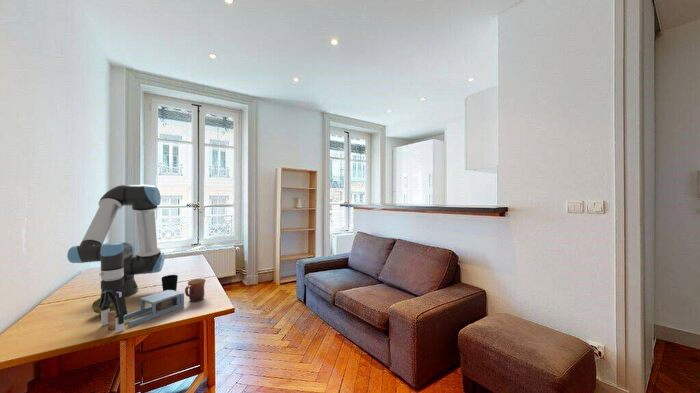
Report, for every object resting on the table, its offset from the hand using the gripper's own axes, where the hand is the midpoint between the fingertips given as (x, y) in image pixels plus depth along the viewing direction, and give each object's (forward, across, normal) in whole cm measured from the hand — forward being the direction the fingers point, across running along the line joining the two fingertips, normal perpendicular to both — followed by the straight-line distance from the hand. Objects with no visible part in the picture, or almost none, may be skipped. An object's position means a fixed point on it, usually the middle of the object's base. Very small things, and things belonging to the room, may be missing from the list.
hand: (112, 327), depth 117 cm
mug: (0, +3, +35) cm, 35 cm away
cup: (0, -13, +31) cm, 34 cm away
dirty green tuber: (0, -18, +5) cm, 19 cm away
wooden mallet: (0, 0, +11) cm, 11 cm away
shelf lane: (0, 0, +15) cm, 15 cm away
